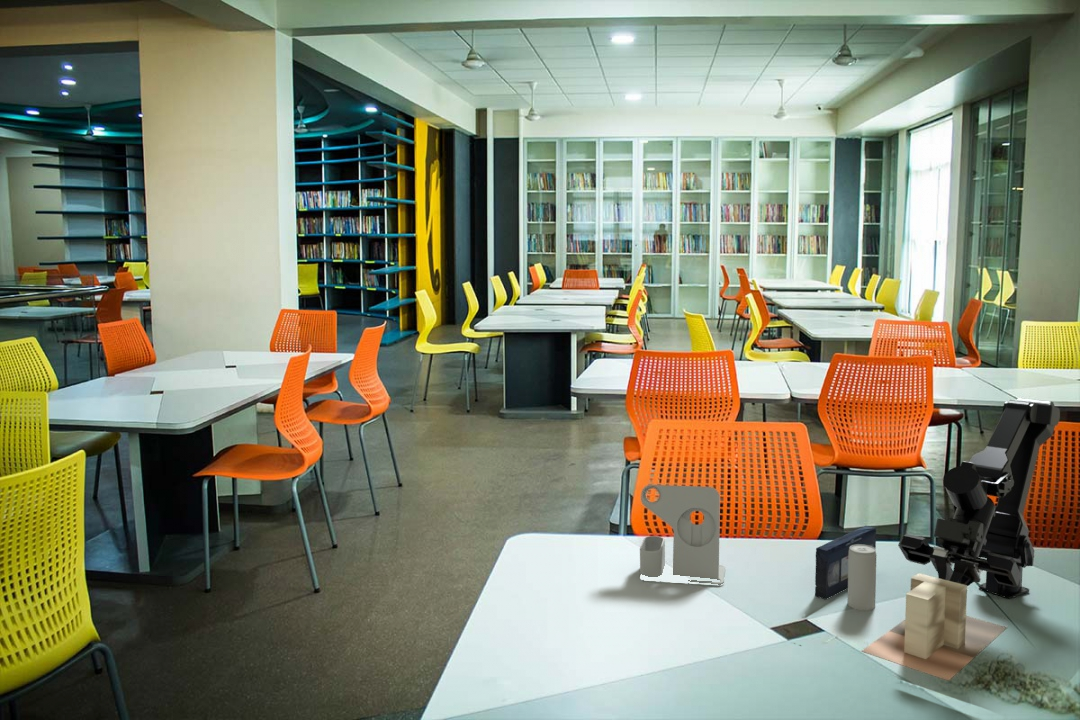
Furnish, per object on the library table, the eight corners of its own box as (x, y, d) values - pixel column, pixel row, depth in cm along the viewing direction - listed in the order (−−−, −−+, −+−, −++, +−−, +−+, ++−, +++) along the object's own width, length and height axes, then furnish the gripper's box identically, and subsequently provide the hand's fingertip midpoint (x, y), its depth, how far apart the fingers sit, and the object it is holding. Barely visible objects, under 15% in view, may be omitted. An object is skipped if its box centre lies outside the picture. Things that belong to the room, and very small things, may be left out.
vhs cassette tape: (825, 600, 167) (826, 550, 165) (812, 596, 169) (812, 546, 168) (877, 575, 178) (878, 528, 177) (864, 571, 180) (865, 524, 179)
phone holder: (636, 581, 179) (635, 495, 176) (643, 563, 188) (642, 482, 186) (723, 587, 174) (723, 499, 172) (725, 568, 184) (725, 485, 182)
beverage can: (877, 617, 159) (878, 553, 157) (849, 615, 160) (850, 552, 158) (872, 606, 163) (874, 544, 162) (845, 604, 164) (846, 543, 163)
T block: (916, 628, 151) (918, 573, 150) (964, 642, 145) (967, 585, 144) (890, 648, 144) (892, 590, 143) (940, 663, 138) (942, 603, 137)
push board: (925, 610, 161) (925, 604, 160) (1007, 633, 151) (1007, 627, 150) (861, 657, 144) (861, 651, 144) (948, 687, 134) (948, 680, 133)
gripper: (904, 489, 156) (874, 565, 150) (1018, 511, 142) (989, 595, 136) (921, 522, 162) (893, 596, 156) (1031, 545, 149) (1005, 627, 143)
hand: (942, 602), depth 148 cm, fingers closed
